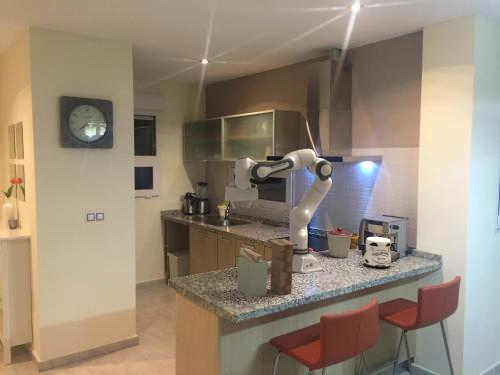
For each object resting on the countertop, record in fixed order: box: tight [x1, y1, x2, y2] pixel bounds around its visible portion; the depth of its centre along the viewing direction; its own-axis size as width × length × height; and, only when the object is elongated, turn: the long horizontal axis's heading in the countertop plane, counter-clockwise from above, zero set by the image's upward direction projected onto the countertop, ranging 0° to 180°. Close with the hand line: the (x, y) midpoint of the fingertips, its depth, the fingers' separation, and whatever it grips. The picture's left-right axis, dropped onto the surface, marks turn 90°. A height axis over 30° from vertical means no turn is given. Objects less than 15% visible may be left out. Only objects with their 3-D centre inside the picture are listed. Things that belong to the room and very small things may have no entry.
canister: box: [326, 226, 352, 259], centre depth 303 cm, size 18×18×21 cm
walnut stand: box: [267, 238, 297, 296], centre depth 219 cm, size 10×14×26 cm
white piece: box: [363, 236, 392, 269], centre depth 278 cm, size 17×17×18 cm
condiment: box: [349, 232, 359, 250], centre depth 331 cm, size 7×8×12 cm
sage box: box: [236, 256, 268, 298], centre depth 216 cm, size 10×14×17 cm
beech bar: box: [239, 247, 263, 263], centre depth 218 cm, size 3×20×4 cm, turn 25°
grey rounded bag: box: [390, 250, 400, 262], centre depth 298 cm, size 15×8×20 cm
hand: (241, 208), depth 248 cm, fingers open, 8 cm apart
